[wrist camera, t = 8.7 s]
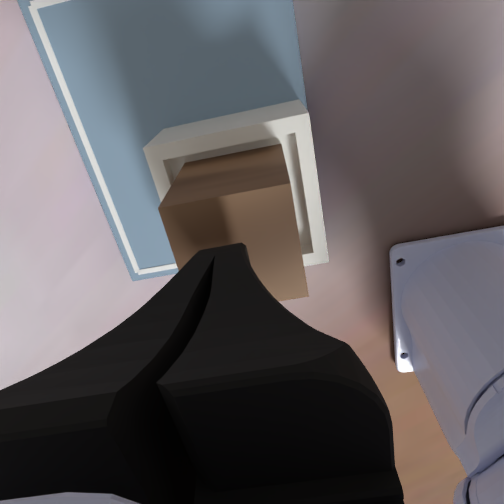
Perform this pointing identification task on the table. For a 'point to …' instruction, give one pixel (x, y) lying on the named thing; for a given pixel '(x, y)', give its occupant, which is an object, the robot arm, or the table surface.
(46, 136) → the table surface
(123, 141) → the blueprint board
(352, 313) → the table surface
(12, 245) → the table surface
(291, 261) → the walnut block
